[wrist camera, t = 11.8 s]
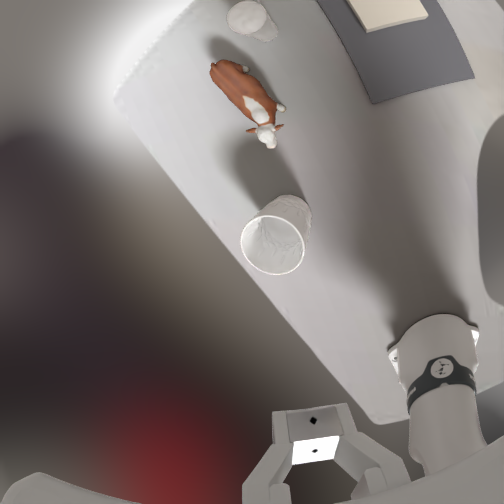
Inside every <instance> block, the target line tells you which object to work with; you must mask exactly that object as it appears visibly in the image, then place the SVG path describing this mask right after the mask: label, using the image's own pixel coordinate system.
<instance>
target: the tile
mask: <svg viewBox="0 0 504 504" xmlns="http://www.w3.org/2000/svg"><path fill="white" fill-rule="evenodd" d="M346 1H347V2H348V4H349V5H350V7H351V8H352V10H353V11H354V13H355V15H356V16H357V18H358V19H359V21H360V23H361V25H362V26H363V28H364V30H365V31H366V33H368V32H372V31H376V30H379V29H383V28H387V27H391V26H395V25H399V24H403V23H408V22H413V21H418V20H423V19H426V18H427V17H428V13H427V12H426V10H425V8H424V7H423V5H422V4H421V2H420V0H346Z"/></svg>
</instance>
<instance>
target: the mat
mask: <svg viewBox="0 0 504 504" xmlns="http://www.w3.org/2000/svg"><path fill="white" fill-rule="evenodd" d="M317 1H318V3H319V4H320V6H321V8H322V9H323V11H324V12H325V14H326V15H327V17H328V19H329V20H330V22H331V23H332V25H333V27H334V28H335V30H336V32H337V34H338V35H339V37H340V39H341V41H342V42H343V44H344V46H345V48H346V50H347V52H348V53H349V55H350V57H351V59H352V61H353V63H354V65H355V67H356V69H357V71H358V73H359V75H360V77H361V79H362V81H363V84H364V86H365V88H366V90H367V92H368V94H369V97H370V99H371V101H372V104H375V103H378V102H381V101H385V100H388V99H391V98H395V97H398V96H402V95H405V94H409V93H412V92H416V91H420V90H424V89H428V88H432V87H436V86H440V85H444V84H449V83H453V82H458V81H463V80H468V79H473V78H475V76H474V74H473V71H472V69H471V67H470V64H469V62H468V59H467V57H466V55H465V53H464V50H463V48H462V46H461V44H460V42H459V40H458V38H457V36H456V34H455V32H454V30H453V28H452V26H451V24H450V22H449V21H448V19H447V17H446V15H445V13H444V12H443V10H442V8H441V7H440V5H439V3H438V2H437V0H420V2H421V4H422V5H423V7H424V8H425V10H426V12H427V13H428V17H427V18H426V19H423V20H418V21H413V22H408V23H403V24H399V25H395V26H391V27H387V28H383V29H379V30H376V31H372V32H368V33H366V31H365V30H364V28H363V26H362V25H361V23H360V21H359V19H358V18H357V16H356V15H355V13H354V11H353V10H352V8H351V7H350V5H349V4H348V2H347V1H346V0H317Z"/></svg>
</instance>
